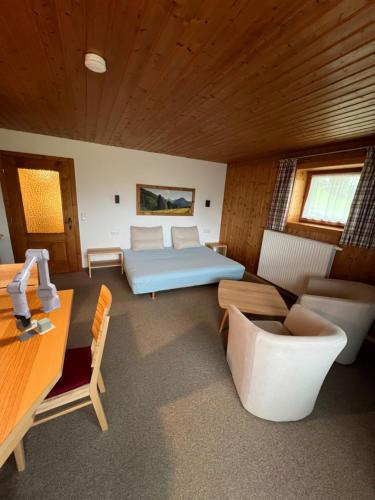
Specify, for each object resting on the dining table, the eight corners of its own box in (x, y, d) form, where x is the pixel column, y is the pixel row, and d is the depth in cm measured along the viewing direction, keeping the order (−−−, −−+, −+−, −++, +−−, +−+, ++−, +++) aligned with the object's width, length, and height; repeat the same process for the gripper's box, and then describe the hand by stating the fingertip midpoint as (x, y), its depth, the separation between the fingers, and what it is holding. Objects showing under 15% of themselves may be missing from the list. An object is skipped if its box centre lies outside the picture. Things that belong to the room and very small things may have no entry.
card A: (35, 319, 123) (35, 319, 123) (41, 324, 120) (41, 323, 120) (19, 326, 117) (19, 326, 117) (26, 331, 113) (26, 331, 113)
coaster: (30, 330, 114) (30, 329, 114) (37, 334, 111) (37, 334, 111) (16, 337, 109) (16, 336, 108) (22, 342, 105) (22, 341, 105)
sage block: (47, 324, 120) (46, 317, 118) (51, 327, 117) (50, 320, 116) (37, 329, 115) (36, 321, 114) (42, 332, 113) (41, 324, 112)
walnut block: (16, 328, 107) (15, 320, 106) (27, 323, 111) (26, 316, 110) (21, 332, 105) (19, 324, 103) (32, 327, 109) (30, 319, 108)
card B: (48, 322, 122) (48, 322, 122) (55, 327, 118) (55, 326, 118) (33, 329, 115) (33, 329, 115) (41, 334, 111) (40, 334, 111)
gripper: (4, 302, 104) (9, 323, 108) (17, 311, 97) (22, 333, 101) (20, 296, 110) (24, 317, 114) (33, 304, 103) (37, 326, 107)
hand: (24, 324), depth 108 cm, fingers closed on walnut block, 5 cm apart
